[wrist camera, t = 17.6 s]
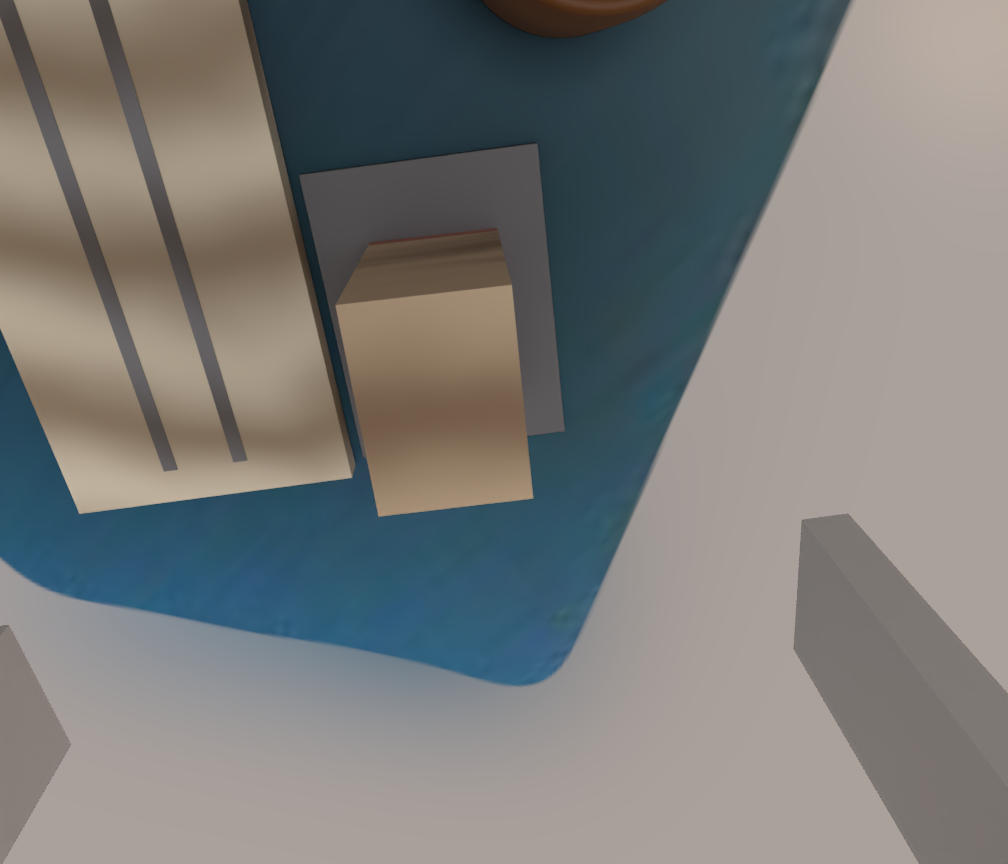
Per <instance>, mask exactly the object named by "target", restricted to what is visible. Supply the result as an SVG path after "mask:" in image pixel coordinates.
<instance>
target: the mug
mask: <svg viewBox="0 0 1008 864" xmlns="http://www.w3.org/2000/svg"><path fill="white" fill-rule="evenodd" d="M482 1H483V2H484V3H485V4H486V6H487V7H488V8H489V9H490V10H492V11H493V12H494V13H495V14H496V15H497V16H499V17H500V18H501V19H503V20H504V21H506V22H507V23H509V24H511V25H512V26H514V27H516V28H518V29H520V30H523V31H525V32H528V33H531V34H535V35H538V36H543V37H551V38H570V37H577V36H583V35H587V34H590V33H593V32H597V31H600V30H603V29H606V28H609V27H613V26H616V25H618V24H621V23H624V22H627V21H629V20H632V19H635V18H637V17H639V16H641V15H643V14H645V13H647V12H649V11H651V10H653V9H655V8H656V7H658V6H659V5H661V4H662V3H664V2H665V1H667V0H482Z"/></svg>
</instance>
